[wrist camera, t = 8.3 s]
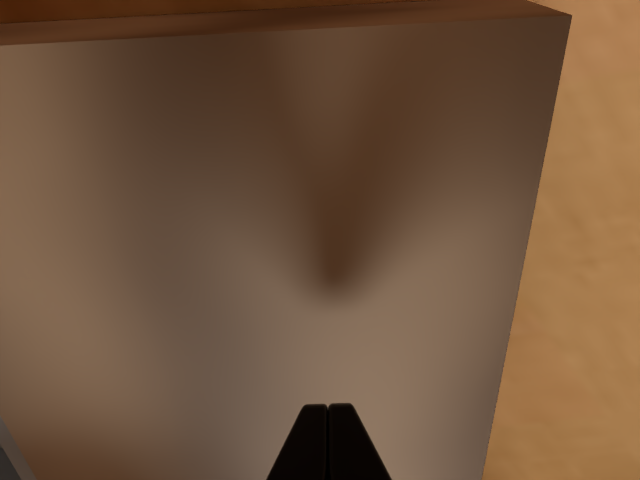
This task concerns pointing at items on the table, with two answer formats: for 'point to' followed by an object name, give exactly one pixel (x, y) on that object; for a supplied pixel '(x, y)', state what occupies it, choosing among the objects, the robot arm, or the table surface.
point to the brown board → (266, 231)
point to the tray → (12, 458)
